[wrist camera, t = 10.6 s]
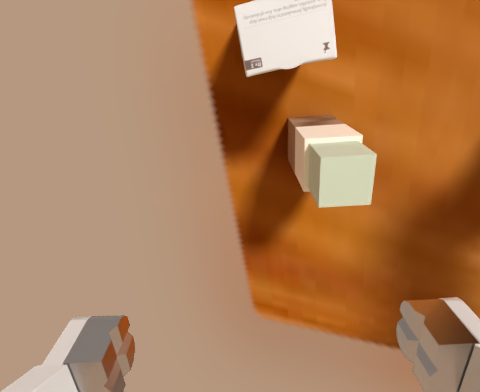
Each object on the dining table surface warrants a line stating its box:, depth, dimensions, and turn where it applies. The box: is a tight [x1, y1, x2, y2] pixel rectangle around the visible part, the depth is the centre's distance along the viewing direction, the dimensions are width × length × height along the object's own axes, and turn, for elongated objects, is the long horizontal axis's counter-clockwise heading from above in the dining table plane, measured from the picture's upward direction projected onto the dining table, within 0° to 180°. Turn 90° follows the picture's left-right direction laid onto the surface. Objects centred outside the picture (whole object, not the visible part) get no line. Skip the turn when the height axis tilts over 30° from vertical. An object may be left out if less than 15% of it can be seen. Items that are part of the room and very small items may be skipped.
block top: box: [295, 124, 363, 192], centre depth 37 cm, size 6×6×6 cm
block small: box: [308, 141, 377, 207], centre depth 32 cm, size 5×5×5 cm
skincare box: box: [234, 0, 337, 77], centre depth 33 cm, size 8×6×15 cm
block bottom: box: [288, 115, 344, 173], centre depth 42 cm, size 6×6×6 cm
